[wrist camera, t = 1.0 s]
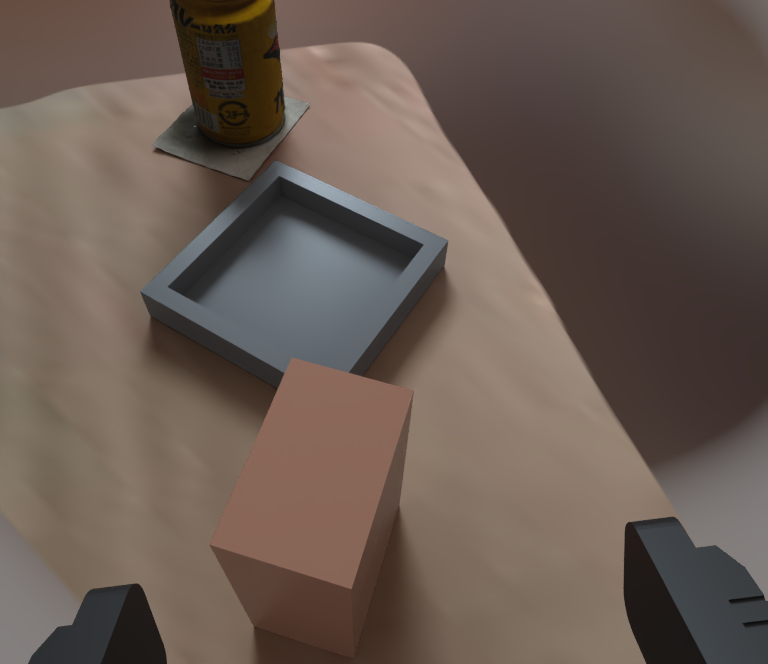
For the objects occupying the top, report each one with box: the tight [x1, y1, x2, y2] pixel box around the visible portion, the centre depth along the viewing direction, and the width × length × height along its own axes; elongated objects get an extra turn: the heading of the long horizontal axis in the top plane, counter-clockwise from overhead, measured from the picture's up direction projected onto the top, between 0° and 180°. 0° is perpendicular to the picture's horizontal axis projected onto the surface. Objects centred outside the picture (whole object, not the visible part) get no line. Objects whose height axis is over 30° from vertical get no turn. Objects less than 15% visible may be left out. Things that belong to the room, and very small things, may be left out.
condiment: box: [152, 0, 310, 181], centre depth 44 cm, size 7×8×12 cm
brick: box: [210, 358, 414, 659], centre depth 28 cm, size 4×7×11 cm, turn 164°
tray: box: [140, 160, 448, 389], centre depth 40 cm, size 12×12×2 cm
